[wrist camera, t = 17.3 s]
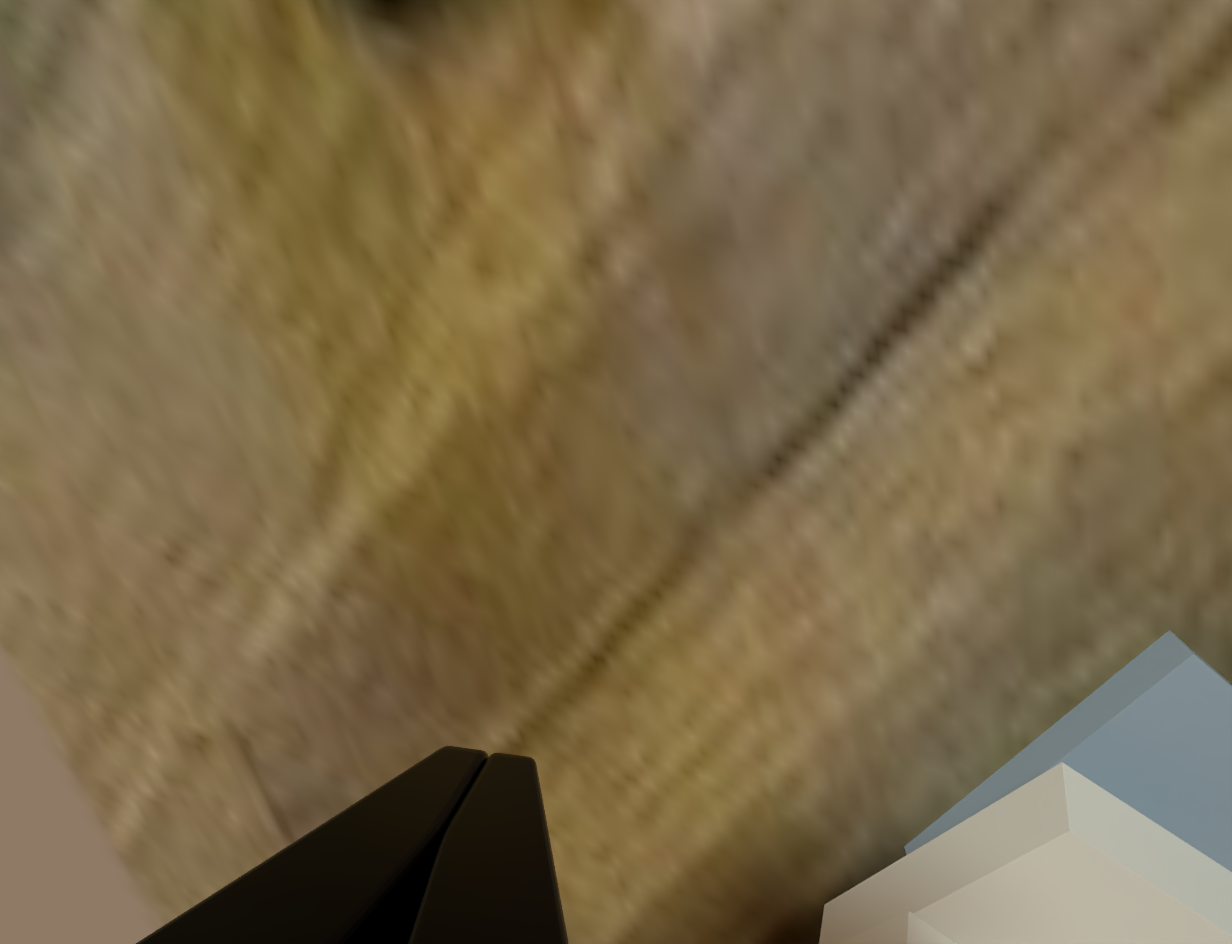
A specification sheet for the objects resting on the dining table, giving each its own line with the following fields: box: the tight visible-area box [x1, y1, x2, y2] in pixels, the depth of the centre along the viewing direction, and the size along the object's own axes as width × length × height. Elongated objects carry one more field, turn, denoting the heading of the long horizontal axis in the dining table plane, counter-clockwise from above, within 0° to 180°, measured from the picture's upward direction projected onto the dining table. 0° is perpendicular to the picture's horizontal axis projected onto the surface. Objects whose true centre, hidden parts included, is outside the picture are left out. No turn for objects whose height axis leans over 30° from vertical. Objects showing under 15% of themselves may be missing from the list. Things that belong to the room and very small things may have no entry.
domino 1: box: [904, 630, 1232, 872], centre depth 20 cm, size 2×5×8 cm
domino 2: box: [819, 762, 1232, 944], centre depth 19 cm, size 2×5×8 cm
